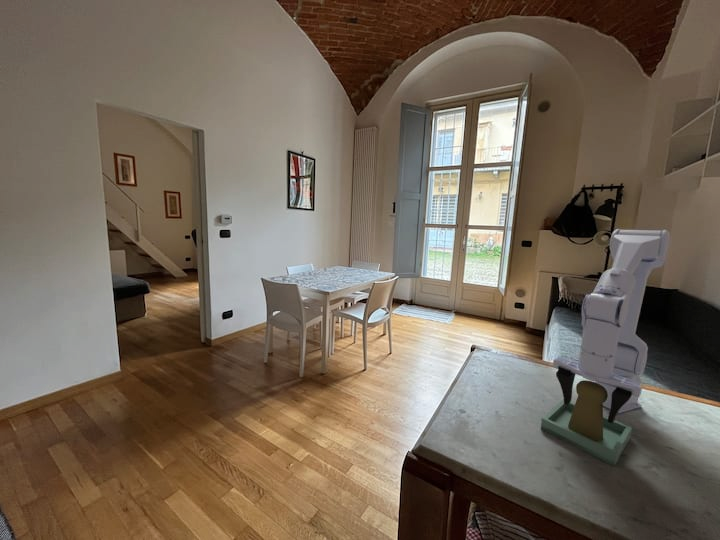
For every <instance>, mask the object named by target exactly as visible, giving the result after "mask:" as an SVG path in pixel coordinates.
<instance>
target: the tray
mask: <svg viewBox="0 0 720 540" xmlns="http://www.w3.org/2000/svg"><path fill="white" fill-rule="evenodd" d="M574 406H575V403H574V402H572V401H571V402H570V403H569V404H568V405H567V404H564V398H563V399H562V400H561V401H560V402H559V403H558V404H556V405H555V406H554V407H553V408H552V409H550V411H549V412H547V413H546V414H545V415H544V416H543V417H541V424H540V430H543V431H544V432H547V433H549V434H550V435H553V436H554V437H556V438H558V439H560V440H562V441H564V442H565V443H568V444H570V445H572V446H574V447H576V448H578V449H580V450H581V451H584V452H586V453H587V454H590V455H591V456H593V457H595V458H597V459H599V460H601V461H602V462H605V463H607V464H609V465H610V466H613V467H615V466H616V464H617V462H618V461H619V458H620V456H622V454H623V452H624V450H625V448H626V446H627V444H628V443H629V441H630V439H631V436H632V430H633V427H631V426H629V425H628V424H627V425H626V424H625V423H622V422H619V421H617V420H614V422H613V423H609V422H608V416H606V415H603V440H602V441H599V442H595V441H593V440H591V439H588V438H586V437H584V436H582V435H580V434H578V433H576V432H574V431H572V430H570V429H569V428H568V424H569V421H570V418H571V415H572V412H573V409H574Z"/></svg>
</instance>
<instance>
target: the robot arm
mask: <svg viewBox="0 0 720 540" xmlns="http://www.w3.org/2000/svg"><path fill="white" fill-rule="evenodd" d="M670 241H671V233H670V231H668V230H667V229H663V230H650V229H649V230H648V229H647V230H645V229H643V230H642V229H621V228H617V229H615V230H614V231H612V234H611V237H610V240H609V250H610V254H611V257H612V258H611V259H613V263H612V266H611V268H610V269H607V270H605V271H604V272H602V273H601V276H600V277H599V280H598V282H597V284H596V285H595V287H594V289H593V292H592V293H590V294H589V293H588V294H586V295H585V297H584V298H583V300H582V304H581V327H582V336H581V342H580V349H579V354H578V355H579V357H578V361H574V360H568V359H564V358H560V357H555V358H554V359H553V362H552V368H553V369H556V370H557V371H556V372H555V375H556V379H557V380H558V382H559V384H560V385H559V386H560V388H561V391H562V396H563V399H564V404H567V405H568V404H569V403H570V402H572V396H573V386H574V382H575V378H576V375H577V376H580V377H582V378H583V379H584V380H587V381H592V382H596V383H598V384H600V385H602V386H603V387H604V388H605V389H606V391H607V394H608V397H607V399H606V401H605V402H604V403H603V407H605V408H607V409H608V410H609V413H608V416H607V417H608V422H609V423H613V422H614V420H615V419H616V417H617V415H618V414H622V413H624V412H628V411H631V410H635V409H638V408H642V406H643V404H641V403H639V397H640V396H641V395H642V389H643V384H642V379H641V375H643V373H644V371H645V369H646V365H647V360H648V350H649V347H648V345H647V343H646V342H645V341H644V340H642V339H641V337H639V336H638V335H637V333H636V331H637V327H638V323H639V318H640V315H641V310H642V309H641V308H642V306H643V305H642V304H643V299H644V296H645V291H646V286H647V282H648V278H649V276H650V275H651V272H652V271H653V270H654V269H658V268H663V266H664V263H665V262H666V258H667V255H668V250H669V246H670ZM620 343H621V344H620ZM623 344H624V345H623ZM626 345H627V346H626ZM615 421H616V420H615Z"/></svg>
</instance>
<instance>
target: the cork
mask: <svg viewBox="0 0 720 540" xmlns="http://www.w3.org/2000/svg"><path fill="white" fill-rule="evenodd" d="M575 390H576V394H577V398H576V400H575V401H576V402H575V403H574V404H575V406H574V409H573V412H572V415H571V418H570V421H569V424H568V428H569V429H570V430H572V431H574V432H576V433H578V434H580V435H582V436H584V437H586V438H588V439H591V440H593V441H595V442H599V441H602V440H603V416H604V406H603V403H604V402H605V401H606V399H607V397H608V394H607V391H606V389H605V388H604V387H603V386H602V385H600V384H598V383H596V382H595V381H591V380H588V379H584V380H580V381H579V382H578V383H577V384H576V387H575Z"/></svg>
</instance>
